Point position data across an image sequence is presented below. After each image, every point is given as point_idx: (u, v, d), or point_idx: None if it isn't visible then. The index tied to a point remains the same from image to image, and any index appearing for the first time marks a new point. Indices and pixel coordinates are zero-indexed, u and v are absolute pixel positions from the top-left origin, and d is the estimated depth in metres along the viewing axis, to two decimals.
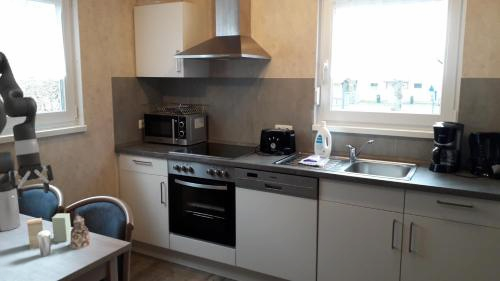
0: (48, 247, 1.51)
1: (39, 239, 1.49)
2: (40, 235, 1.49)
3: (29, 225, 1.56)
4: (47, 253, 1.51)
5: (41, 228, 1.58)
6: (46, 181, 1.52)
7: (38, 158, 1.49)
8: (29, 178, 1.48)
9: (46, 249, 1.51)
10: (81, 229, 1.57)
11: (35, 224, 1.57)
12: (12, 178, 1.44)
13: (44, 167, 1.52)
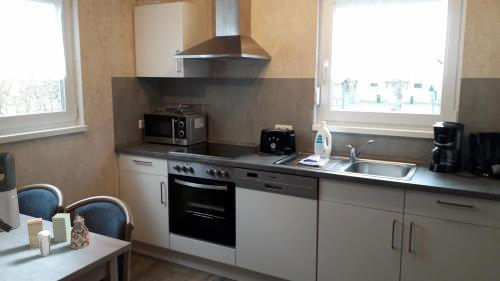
0: (48, 247, 1.51)
1: (39, 239, 1.49)
2: (40, 235, 1.49)
3: (29, 225, 1.56)
4: (47, 253, 1.51)
5: (41, 228, 1.58)
6: None
7: None
8: None
9: (46, 249, 1.51)
10: (81, 229, 1.57)
11: (35, 224, 1.57)
12: None
13: None
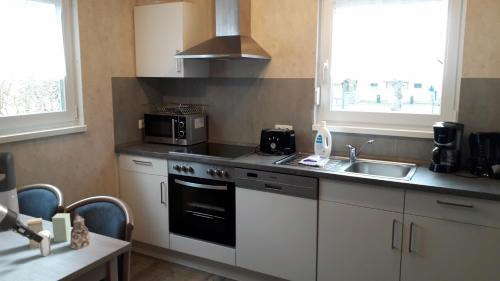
0: (48, 247, 1.51)
1: None
2: (40, 235, 1.49)
3: (29, 225, 1.56)
4: (47, 253, 1.51)
5: (41, 228, 1.58)
6: None
7: (1, 228, 1.38)
8: None
9: (46, 249, 1.51)
10: (81, 229, 1.57)
11: (35, 224, 1.57)
12: None
13: (18, 229, 1.40)
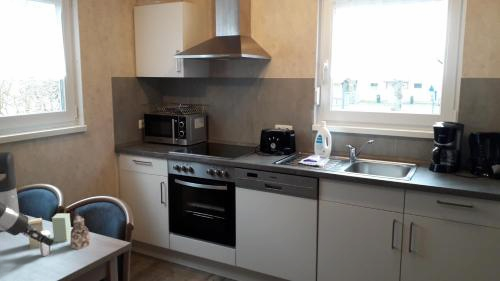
0: (48, 247, 1.51)
1: None
2: None
3: None
4: (47, 253, 1.51)
5: (41, 228, 1.58)
6: None
7: (13, 232, 1.41)
8: None
9: (46, 249, 1.51)
10: (81, 229, 1.57)
11: (35, 224, 1.57)
12: None
13: (30, 234, 1.43)
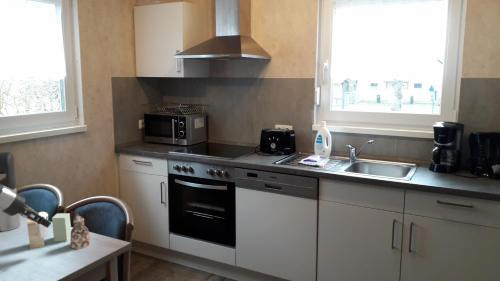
0: (45, 229, 1.50)
1: None
2: None
3: (29, 225, 1.56)
4: (44, 235, 1.50)
5: None
6: None
7: (10, 212, 1.40)
8: None
9: (43, 230, 1.50)
10: (81, 229, 1.57)
11: (35, 224, 1.57)
12: None
13: (28, 214, 1.42)
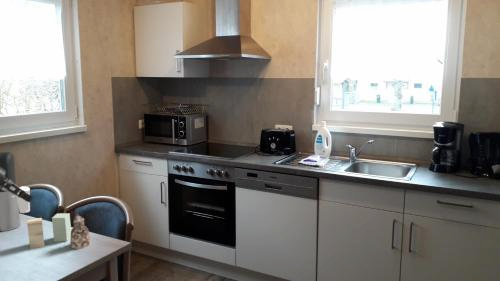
0: (27, 203, 1.45)
1: None
2: None
3: (29, 225, 1.56)
4: (26, 210, 1.45)
5: (41, 228, 1.58)
6: None
7: None
8: None
9: (25, 205, 1.44)
10: (81, 229, 1.57)
11: (35, 224, 1.57)
12: None
13: (8, 187, 1.37)
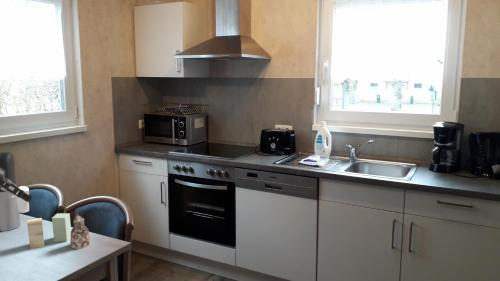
0: (26, 203, 1.45)
1: None
2: None
3: (29, 225, 1.56)
4: (25, 210, 1.45)
5: (41, 228, 1.58)
6: None
7: None
8: (5, 188, 1.42)
9: (24, 205, 1.44)
10: (81, 229, 1.57)
11: (35, 224, 1.57)
12: None
13: (6, 187, 1.36)
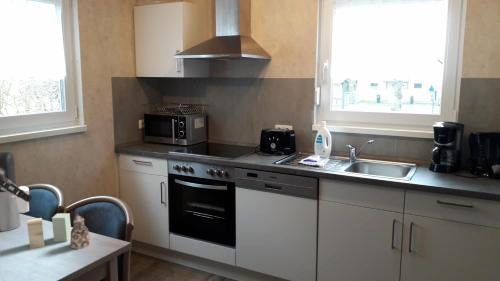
0: (26, 203, 1.45)
1: None
2: None
3: (29, 225, 1.56)
4: (25, 210, 1.45)
5: (41, 228, 1.58)
6: None
7: None
8: (5, 188, 1.42)
9: (24, 205, 1.44)
10: (81, 229, 1.57)
11: (35, 224, 1.57)
12: None
13: (6, 187, 1.36)
